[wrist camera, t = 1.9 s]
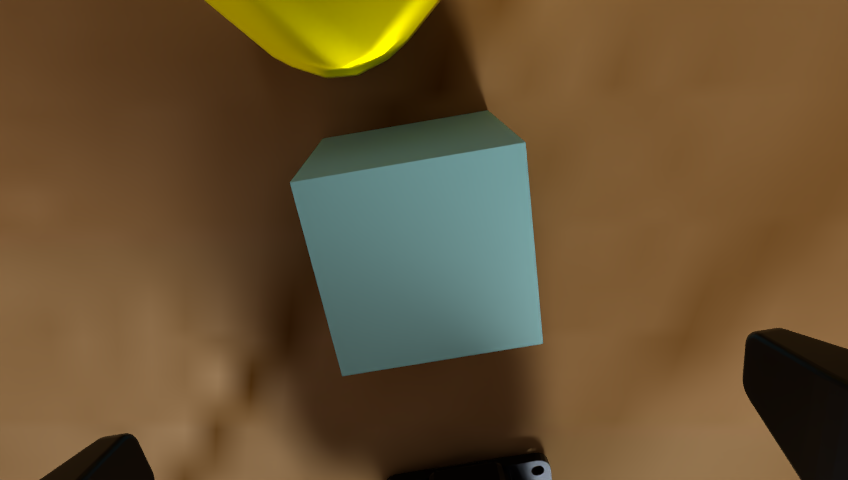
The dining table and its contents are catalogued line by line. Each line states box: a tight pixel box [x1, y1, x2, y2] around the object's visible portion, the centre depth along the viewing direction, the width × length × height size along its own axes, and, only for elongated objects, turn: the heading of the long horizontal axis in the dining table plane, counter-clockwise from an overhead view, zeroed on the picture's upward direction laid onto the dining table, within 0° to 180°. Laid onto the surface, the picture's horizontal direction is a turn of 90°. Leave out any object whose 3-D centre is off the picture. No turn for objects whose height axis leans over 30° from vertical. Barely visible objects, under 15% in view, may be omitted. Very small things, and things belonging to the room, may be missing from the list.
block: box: [290, 110, 543, 376], centre depth 14 cm, size 5×5×5 cm
